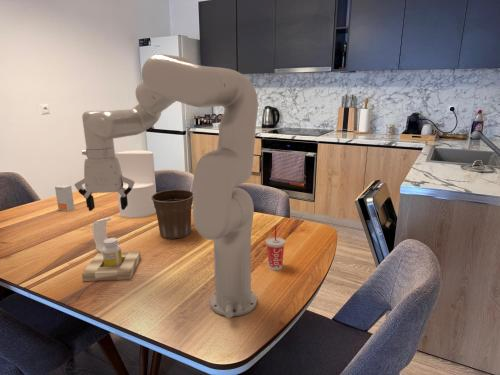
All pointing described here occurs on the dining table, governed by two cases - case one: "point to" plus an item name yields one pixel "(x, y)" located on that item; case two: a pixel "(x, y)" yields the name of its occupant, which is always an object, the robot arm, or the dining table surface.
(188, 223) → the plant pot
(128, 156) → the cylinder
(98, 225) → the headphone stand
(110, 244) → the supplement bottle
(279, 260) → the beverage cup
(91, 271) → the socket block
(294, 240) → the dining table surface
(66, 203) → the skincare box
